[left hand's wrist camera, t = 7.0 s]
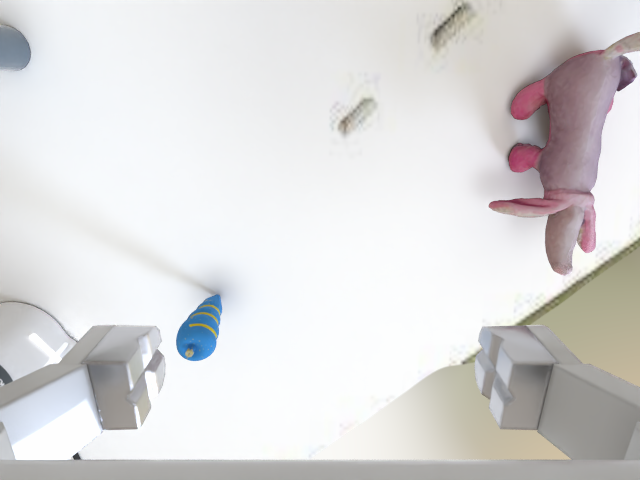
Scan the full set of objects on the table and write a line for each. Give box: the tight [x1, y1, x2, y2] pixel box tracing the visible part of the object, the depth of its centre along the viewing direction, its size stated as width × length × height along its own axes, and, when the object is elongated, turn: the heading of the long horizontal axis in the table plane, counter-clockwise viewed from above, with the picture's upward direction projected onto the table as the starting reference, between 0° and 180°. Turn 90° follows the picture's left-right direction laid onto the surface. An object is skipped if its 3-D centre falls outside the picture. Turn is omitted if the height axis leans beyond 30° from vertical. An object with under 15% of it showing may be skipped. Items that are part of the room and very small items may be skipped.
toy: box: [489, 32, 640, 275], centre depth 51 cm, size 19×24×15 cm
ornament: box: [176, 295, 222, 361], centre depth 57 cm, size 5×5×15 cm
